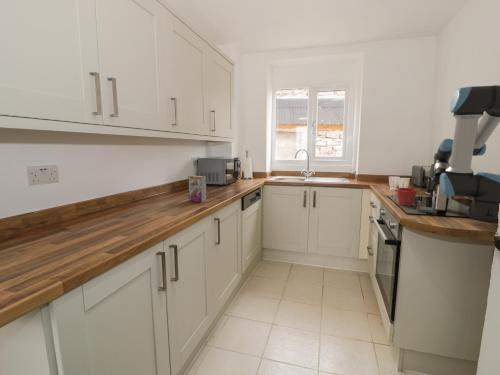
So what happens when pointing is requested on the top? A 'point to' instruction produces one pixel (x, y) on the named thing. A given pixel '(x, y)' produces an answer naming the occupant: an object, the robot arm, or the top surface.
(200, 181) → the candy bar box
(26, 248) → the top surface
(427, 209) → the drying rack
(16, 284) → the top surface
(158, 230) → the top surface
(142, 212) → the top surface
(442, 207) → the white tall block
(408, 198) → the flower pot
